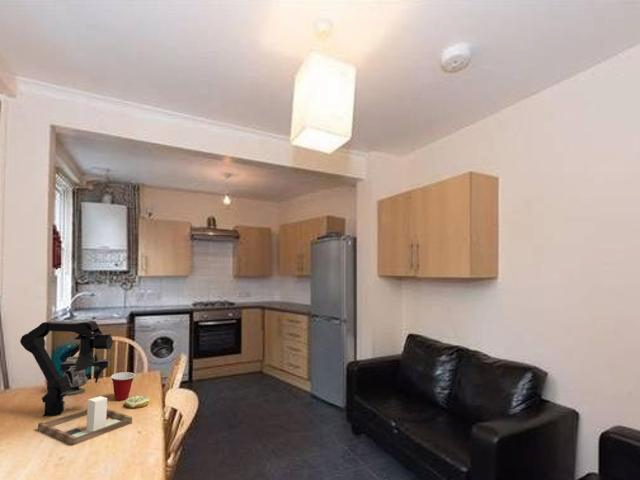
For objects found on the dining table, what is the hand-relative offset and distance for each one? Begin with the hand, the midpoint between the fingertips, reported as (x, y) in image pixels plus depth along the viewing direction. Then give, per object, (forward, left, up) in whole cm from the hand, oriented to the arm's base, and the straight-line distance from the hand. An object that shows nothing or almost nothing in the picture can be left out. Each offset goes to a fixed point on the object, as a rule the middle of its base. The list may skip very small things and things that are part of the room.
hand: (84, 384), depth 167 cm
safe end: (+9, -21, -13) cm, 27 cm away
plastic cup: (+14, +15, -13) cm, 24 cm away
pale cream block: (+9, -21, -13) cm, 26 cm away
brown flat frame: (+5, -16, -13) cm, 21 cm away
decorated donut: (+22, +4, -14) cm, 26 cm away
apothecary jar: (-11, +34, -13) cm, 38 cm away
